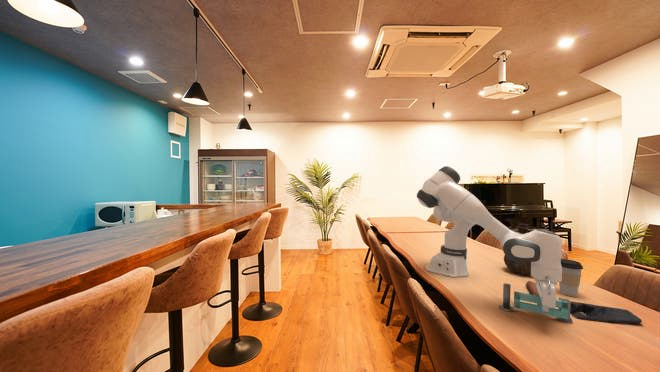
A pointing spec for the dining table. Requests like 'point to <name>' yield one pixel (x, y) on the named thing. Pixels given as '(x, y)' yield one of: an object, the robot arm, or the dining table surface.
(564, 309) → the gate
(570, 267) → the coffee cup
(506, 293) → the hinge post
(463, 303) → the dining table surface
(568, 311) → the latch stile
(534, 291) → the sunglasses case
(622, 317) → the dark slate chunk
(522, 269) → the dark brown vase
